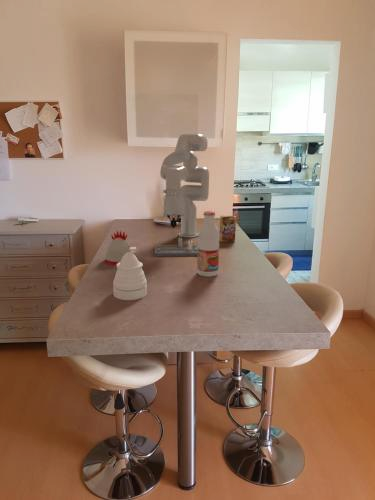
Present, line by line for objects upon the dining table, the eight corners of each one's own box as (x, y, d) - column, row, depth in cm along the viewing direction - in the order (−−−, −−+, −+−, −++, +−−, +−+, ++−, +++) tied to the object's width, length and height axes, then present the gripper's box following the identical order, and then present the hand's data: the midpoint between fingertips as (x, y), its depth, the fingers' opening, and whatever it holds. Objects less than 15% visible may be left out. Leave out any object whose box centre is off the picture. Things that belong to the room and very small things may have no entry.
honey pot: (131, 285, 159) (130, 242, 154) (153, 292, 151) (153, 248, 146) (106, 294, 149) (104, 249, 144) (129, 302, 141) (127, 255, 136)
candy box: (220, 242, 228) (221, 216, 224) (219, 240, 232) (219, 215, 228) (235, 242, 229) (236, 216, 225) (233, 240, 233) (234, 215, 229)
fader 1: (178, 245, 213) (178, 236, 211) (181, 245, 213) (182, 236, 212) (178, 246, 210) (178, 237, 209) (182, 246, 210) (182, 237, 209)
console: (154, 247, 214) (154, 243, 213) (197, 247, 216) (197, 243, 215) (154, 256, 199) (154, 251, 198) (200, 255, 200) (201, 251, 200)
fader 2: (188, 248, 206) (188, 239, 205) (191, 248, 207) (192, 239, 205) (188, 250, 204) (188, 241, 203) (192, 250, 204) (192, 241, 203)
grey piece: (128, 266, 183) (127, 235, 179) (101, 263, 185) (99, 233, 181) (137, 257, 196) (137, 228, 192) (112, 255, 198) (111, 227, 194)
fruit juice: (203, 269, 180) (204, 209, 172) (221, 272, 175) (224, 211, 168) (193, 274, 172) (194, 212, 164) (212, 278, 167) (214, 214, 160)
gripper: (158, 193, 192) (159, 229, 198) (188, 193, 194) (188, 228, 199) (158, 191, 199) (159, 225, 205) (187, 190, 201) (187, 225, 206)
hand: (173, 227), depth 202 cm, fingers closed
